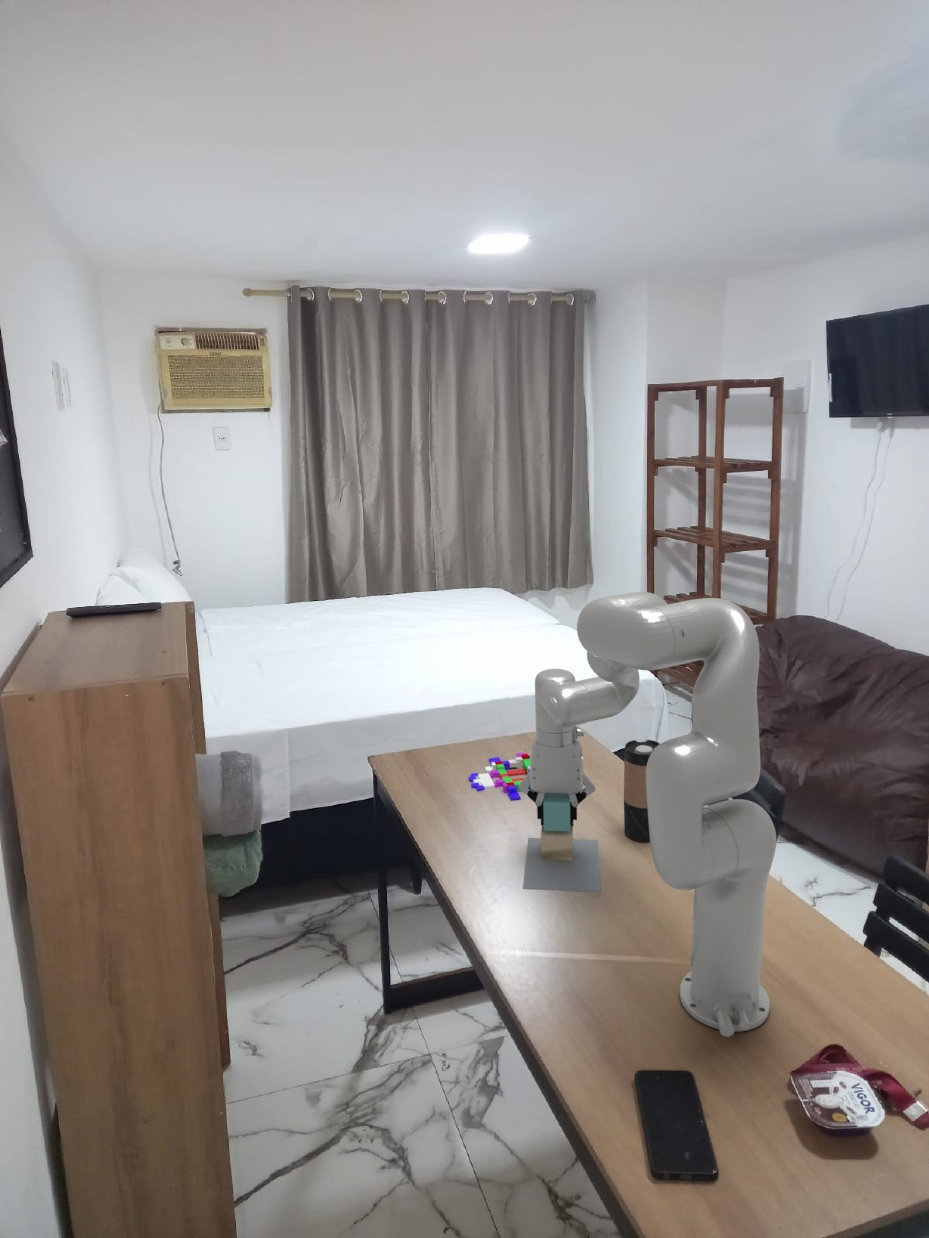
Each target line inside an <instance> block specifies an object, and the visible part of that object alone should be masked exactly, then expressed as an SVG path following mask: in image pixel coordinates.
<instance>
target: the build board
mask: <svg viewBox="0 0 929 1238" xmlns="http://www.w3.org/2000/svg"><path fill="white" fill-rule="evenodd" d="M599 852H600V850H599V840H598V839H582V838H573V861H568V860H541V837H528V838H527V846H526V855H525V864H524V874H523V883H522V884H523V885H522V890H538V891H560V892H561V891H564V892H585V893H586V892H589V893H602V887H601V885H602V884H601V869H600V868H601V867H600V866H601V865H600V853H599Z"/></svg>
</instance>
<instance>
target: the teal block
mask: <svg viewBox="0 0 929 1238" xmlns="http://www.w3.org/2000/svg"><path fill="white" fill-rule="evenodd" d="M570 801H571V800H570V797H569V794H568V793H545V794H544V800H543V810H544V831H570Z"/></svg>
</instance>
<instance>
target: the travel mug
mask: <svg viewBox="0 0 929 1238" xmlns="http://www.w3.org/2000/svg"><path fill="white" fill-rule="evenodd" d="M659 744H661V743H660V742H658V741H657V740H656V741H655V740H651V739H647V740H645V741H637V740H636V739H632V740H630V741H627V742H626V743H625V745H624V762H623V766H624V767H623V768H624V770H623V816H624V817H623V821H624V824H623V825H624V836H625V837H626V838H627V839H629V840H630V841H633V842H636V843H640V844H650V834H649V821H648V807H647V794H646V766H647V762H648V759H649V757H650V755H651V753H652V751H653V750H654V749H655V748H656V747H657V746H658V745H659Z"/></svg>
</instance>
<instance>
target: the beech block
mask: <svg viewBox="0 0 929 1238" xmlns="http://www.w3.org/2000/svg"><path fill="white" fill-rule="evenodd" d="M573 827H574V825H573V826H571V825H570V831H544V825H541V833H540V838H541V860H568V861H573V839H574V834H573V833H574V832H573V831H574V829H573Z"/></svg>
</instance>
